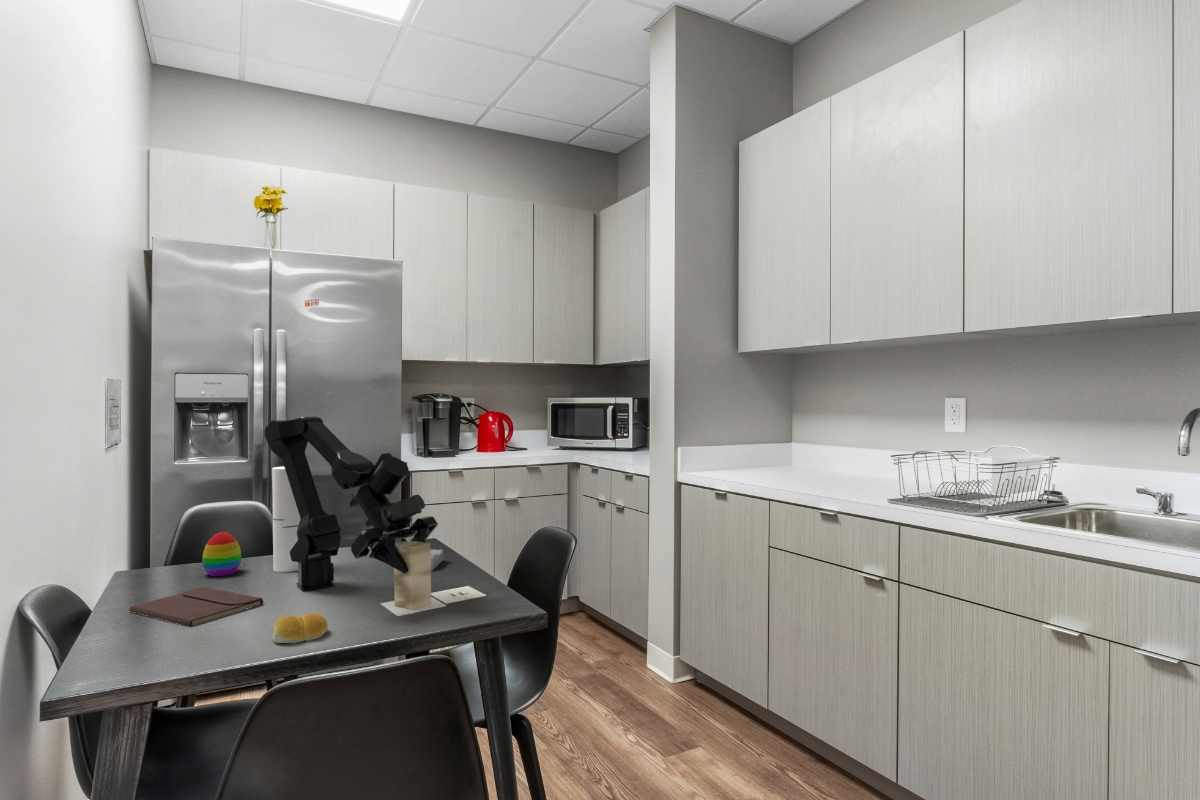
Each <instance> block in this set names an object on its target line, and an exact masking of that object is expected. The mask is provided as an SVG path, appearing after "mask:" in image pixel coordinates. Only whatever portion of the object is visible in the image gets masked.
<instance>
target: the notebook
mask: <svg viewBox="0 0 1200 800" xmlns="http://www.w3.org/2000/svg"><path fill="white" fill-rule="evenodd" d="M260 604H264V599H263V598H262V597H258V596H252V595H249V594H243V593H239V592H232V591H228V590H222V589H217V588H212V587H208V586H207V587H206V586H199V587H195V588H191V589H188V590H185V591H183V592H181V593H177V594H173V595H169V596H164V597H161V598H158V599H154V600H151V601H146V602H143V603H139V604H136V605H131V606H130V607H129V609H128V611H132V612H136V613H140V614H144V615H148V616H151V617H155V618H159V619H163V620H167V621H170V622H169V623H171V622H173V623H172V624H175V623H178V624H177V625H179V624H181V625H180V626H185V627H188V626H189V627H188V628H190V626H191V627H193V625H194V626H197V625H200V624H204V623H206V621H207V622H210V621H213V620H217V619H220V618H223V617H226V616H225V615H227V616H229V615H228V614H230V615H232V614H231V613H233V614H235V613H234V612H236V613H238V612H237V611H240V610H243V611H245V610H244V609H246V608H250V607H253V606H256V607H258V606H257V605H259V606H261V605H260ZM253 608H254V607H253ZM250 609H251V608H250ZM246 610H247V609H246ZM240 612H241V611H240ZM222 616H223V617H222ZM151 617H150V618H151ZM219 617H220V618H219ZM155 618H154V619H155ZM216 618H217V619H216ZM159 619H158V620H159ZM212 619H213V620H212ZM163 620H162V621H163ZM209 620H210V621H209ZM167 621H166V622H167ZM203 622H204V623H203ZM199 623H200V624H199ZM196 624H197V625H196Z"/></svg>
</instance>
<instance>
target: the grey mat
mask: <svg viewBox="0 0 1200 800" xmlns="http://www.w3.org/2000/svg"><path fill="white" fill-rule="evenodd" d="M379 604H380V605H381V606H383V607H384V608H385V609H387V610H388V611H390V612H391V613H392V614H394V615H395V616H397V617H401V616H404V615H410V614H414V613H421V612H424V611H429V610H435V609H439V608H444V607H447V604H446V603H444V602H442V601H441V600H439V599H437V598H436V597H434V596H431V603H429V604H427V605H424V606H421V607H418V608H416V609H407V608H402V607H397V606H395V601H394V600H390V601H386V602H380V603H379Z"/></svg>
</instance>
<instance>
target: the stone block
mask: <svg viewBox="0 0 1200 800" xmlns="http://www.w3.org/2000/svg"><path fill="white" fill-rule="evenodd" d="M442 561H443V562H444V550H443V549H431V572H432V571H434V569H436V568H438V567H439V566H440V565H441V564H442V563H443V562H442ZM441 562H442V563H441ZM440 563H441V564H440ZM439 564H440V565H439ZM438 565H439V566H438ZM437 566H438V567H437Z"/></svg>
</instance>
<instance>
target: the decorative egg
mask: <svg viewBox="0 0 1200 800" xmlns="http://www.w3.org/2000/svg"><path fill="white" fill-rule="evenodd" d="M241 561H242V551H241V547H240V544H239V543H238V541H237V539H236V538H235V537H234V536H233V535H232V534H231V533H229V532H224V531H220V532H218V533H216V534H214V535H213V536H211V538H210V539H208V542H207V543H206V544H205V546H204V549H203V553H202V566H203V569H204V571H205V573H207V575H208V576H210V577H225V576H230V575H232V574H235V572H237V570H238V568H239V567H240V565H241Z"/></svg>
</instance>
